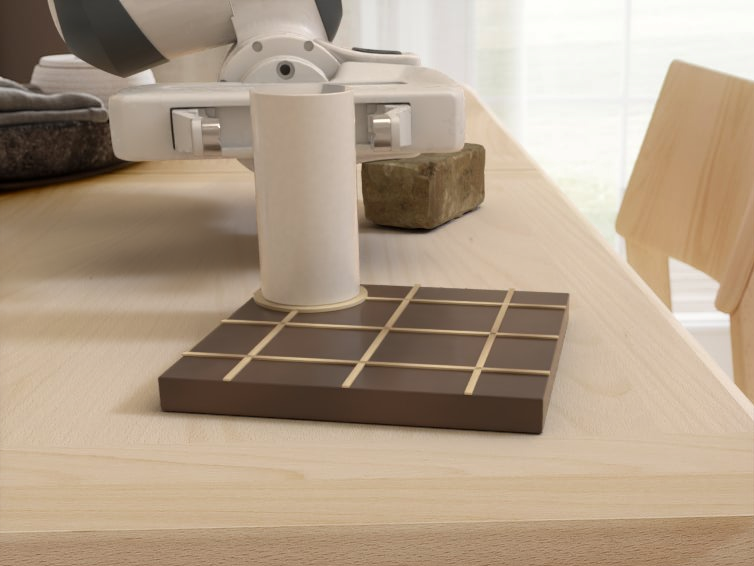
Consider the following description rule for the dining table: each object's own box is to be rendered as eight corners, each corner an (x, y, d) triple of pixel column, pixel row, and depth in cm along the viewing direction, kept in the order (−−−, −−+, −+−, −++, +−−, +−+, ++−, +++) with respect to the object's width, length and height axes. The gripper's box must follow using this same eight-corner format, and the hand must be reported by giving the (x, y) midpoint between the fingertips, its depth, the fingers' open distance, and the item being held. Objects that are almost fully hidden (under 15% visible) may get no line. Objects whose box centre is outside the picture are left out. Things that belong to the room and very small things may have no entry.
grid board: (160, 411, 49) (156, 372, 48) (273, 306, 63) (271, 276, 63) (542, 434, 47) (543, 394, 46) (568, 320, 61) (570, 288, 60)
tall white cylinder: (248, 303, 58) (234, 93, 54) (278, 278, 62) (266, 82, 58) (347, 308, 57) (339, 95, 53) (369, 282, 62) (364, 84, 58)
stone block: (356, 228, 82) (354, 155, 80) (419, 200, 92) (419, 134, 90) (433, 234, 80) (433, 160, 78) (489, 205, 90) (490, 138, 88)
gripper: (110, 57, 71) (86, 78, 59) (441, 52, 75) (485, 71, 62) (121, 162, 74) (101, 204, 61) (441, 153, 77) (484, 191, 64)
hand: (298, 137), depth 62 cm, fingers open, 8 cm apart
